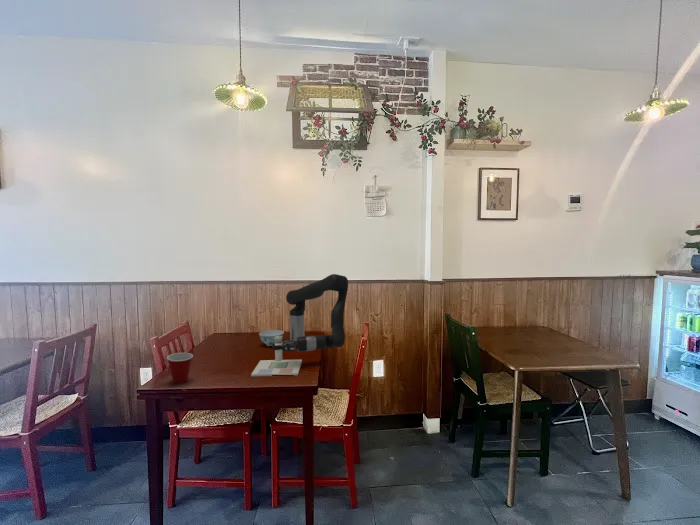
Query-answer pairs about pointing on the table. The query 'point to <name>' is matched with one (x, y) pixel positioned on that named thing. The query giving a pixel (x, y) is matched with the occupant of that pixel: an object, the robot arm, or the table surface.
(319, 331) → the table surface
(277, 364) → the picture board
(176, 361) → the plastic cup
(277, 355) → the marker
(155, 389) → the table surface
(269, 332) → the chinaware
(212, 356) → the table surface
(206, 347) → the table surface
